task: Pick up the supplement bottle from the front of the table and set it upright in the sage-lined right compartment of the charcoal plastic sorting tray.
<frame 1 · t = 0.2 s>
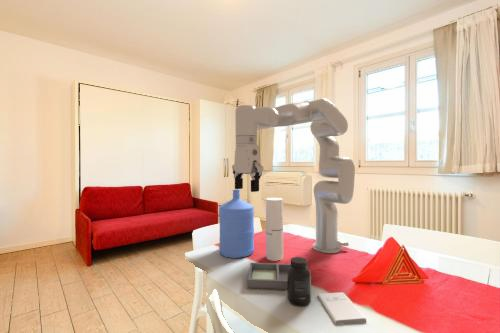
hand: (246, 190, 87), 31 cm above the table, tool pointing down, fingers open, 9 cm apart
cylindrical container: (274, 257, 104), on the table
sorting tray: (277, 280, 85), on the table
water jug: (236, 252, 111), on the table
supplement bottle: (299, 300, 73), on the table
external hard drive: (340, 311, 69), on the table
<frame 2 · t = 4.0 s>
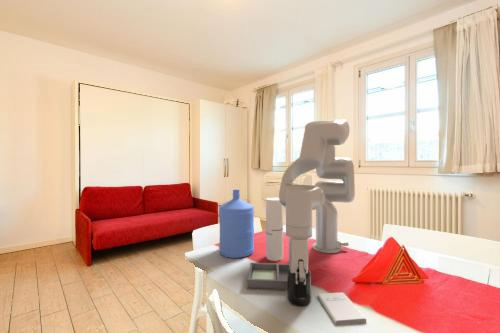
hand: (299, 289, 73), 3 cm above the table, tool pointing down, fingers closed on supplement bottle, 6 cm apart
supplement bottle: (298, 300, 73), on the table, touching gripper
everything else where it was.
when the fingers open (6 cm above the table, at t = 10.9 s): supplement bottle drops 2 cm, resting on sorting tray.
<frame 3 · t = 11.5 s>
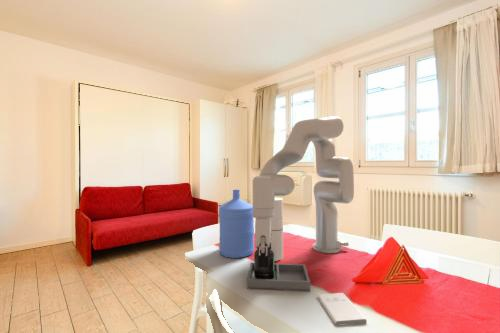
hand: (263, 261, 85), 7 cm above the table, tool pointing down, fingers open, 9 cm apart
supplement bottle: (264, 277, 85), point 1 cm above the table, touching sorting tray
everything else where it was.
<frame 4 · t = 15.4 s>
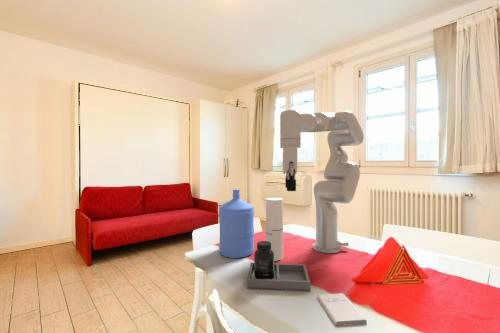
hand: (290, 189, 93), 30 cm above the table, tool pointing down, fingers open, 9 cm apart
nothing on the table moved.
at the end: supplement bottle inside the target area on the sorting tray (0.3 cm from its centre), point 0.6 cm above the sorting tray's base; supplement bottle tilted 0°; the gripper is holding nothing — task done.
